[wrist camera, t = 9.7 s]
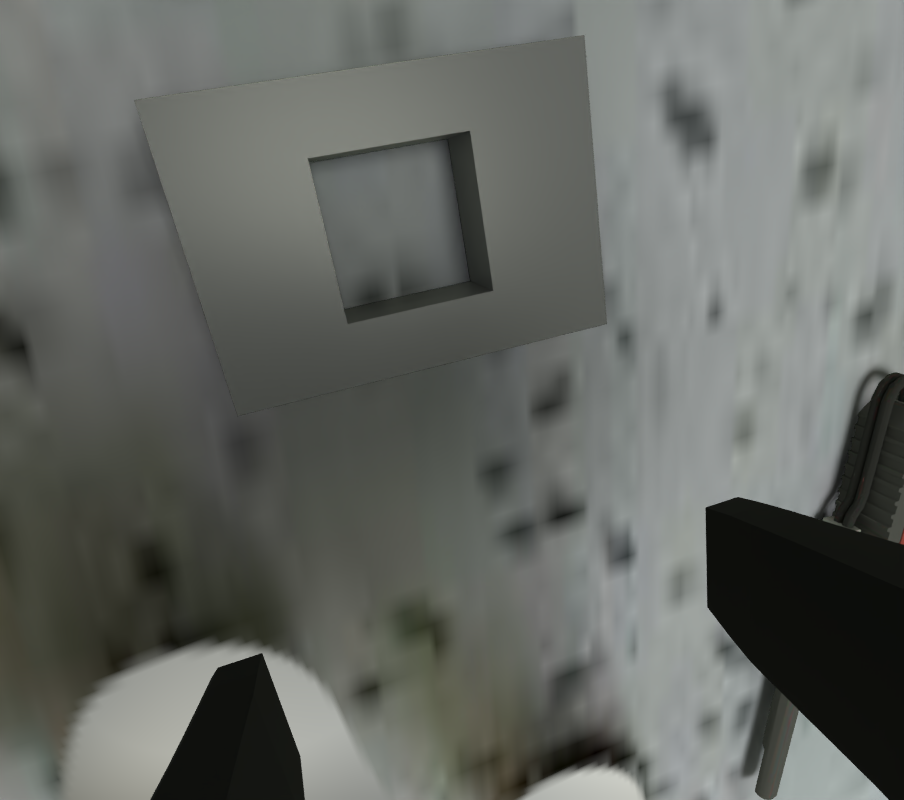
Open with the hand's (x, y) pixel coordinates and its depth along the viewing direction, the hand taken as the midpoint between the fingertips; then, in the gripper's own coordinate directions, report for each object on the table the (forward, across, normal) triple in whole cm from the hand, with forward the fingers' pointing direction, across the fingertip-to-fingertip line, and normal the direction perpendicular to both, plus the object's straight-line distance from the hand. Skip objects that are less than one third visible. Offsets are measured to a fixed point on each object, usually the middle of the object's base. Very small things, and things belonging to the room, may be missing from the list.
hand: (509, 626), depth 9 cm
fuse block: (+9, -1, -6) cm, 11 cm away
